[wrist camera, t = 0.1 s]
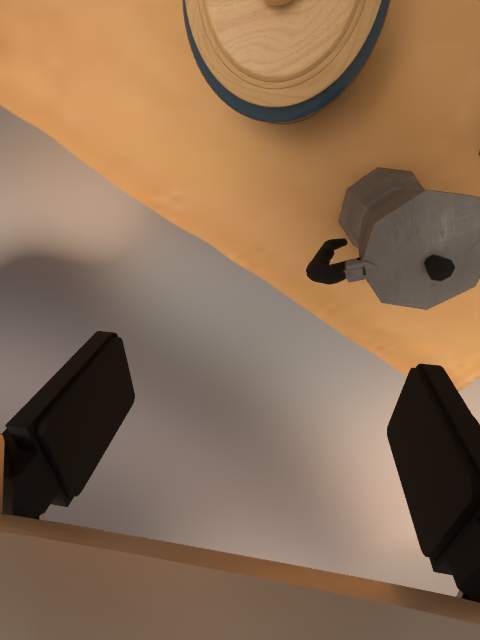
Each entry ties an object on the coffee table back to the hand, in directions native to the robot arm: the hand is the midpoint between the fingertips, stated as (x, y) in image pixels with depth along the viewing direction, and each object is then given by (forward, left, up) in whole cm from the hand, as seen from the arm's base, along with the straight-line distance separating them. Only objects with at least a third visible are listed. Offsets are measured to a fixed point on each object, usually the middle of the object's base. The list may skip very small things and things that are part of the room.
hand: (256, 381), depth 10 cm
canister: (-14, -1, -31) cm, 34 cm away
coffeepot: (+1, +10, -31) cm, 33 cm away
